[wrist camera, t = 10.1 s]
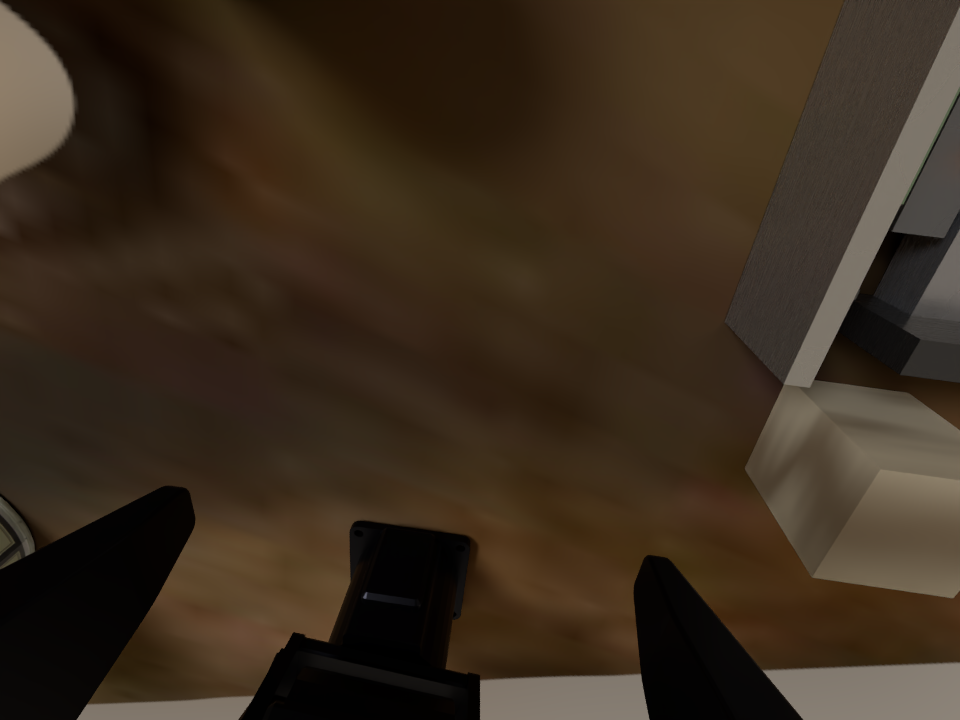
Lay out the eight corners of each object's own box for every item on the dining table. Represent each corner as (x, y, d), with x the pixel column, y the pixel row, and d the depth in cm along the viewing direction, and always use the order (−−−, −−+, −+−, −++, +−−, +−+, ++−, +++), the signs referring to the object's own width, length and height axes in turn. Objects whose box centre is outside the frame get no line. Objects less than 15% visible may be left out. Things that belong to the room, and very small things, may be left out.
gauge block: (851, 483, 22) (953, 598, 17) (744, 468, 23) (811, 577, 17) (907, 392, 20) (1044, 492, 15) (787, 375, 20) (880, 469, 15)
